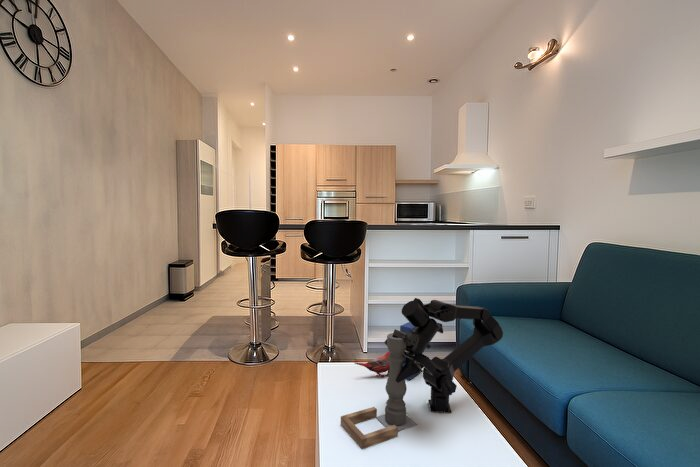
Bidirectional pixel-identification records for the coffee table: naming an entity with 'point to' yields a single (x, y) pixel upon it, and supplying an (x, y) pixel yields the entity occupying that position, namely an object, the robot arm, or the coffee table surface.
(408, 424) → the mat
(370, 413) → the wooden u-shaped frame
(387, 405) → the candle holder
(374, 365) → the decorative bird figurine
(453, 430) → the coffee table surface
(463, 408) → the coffee table surface
